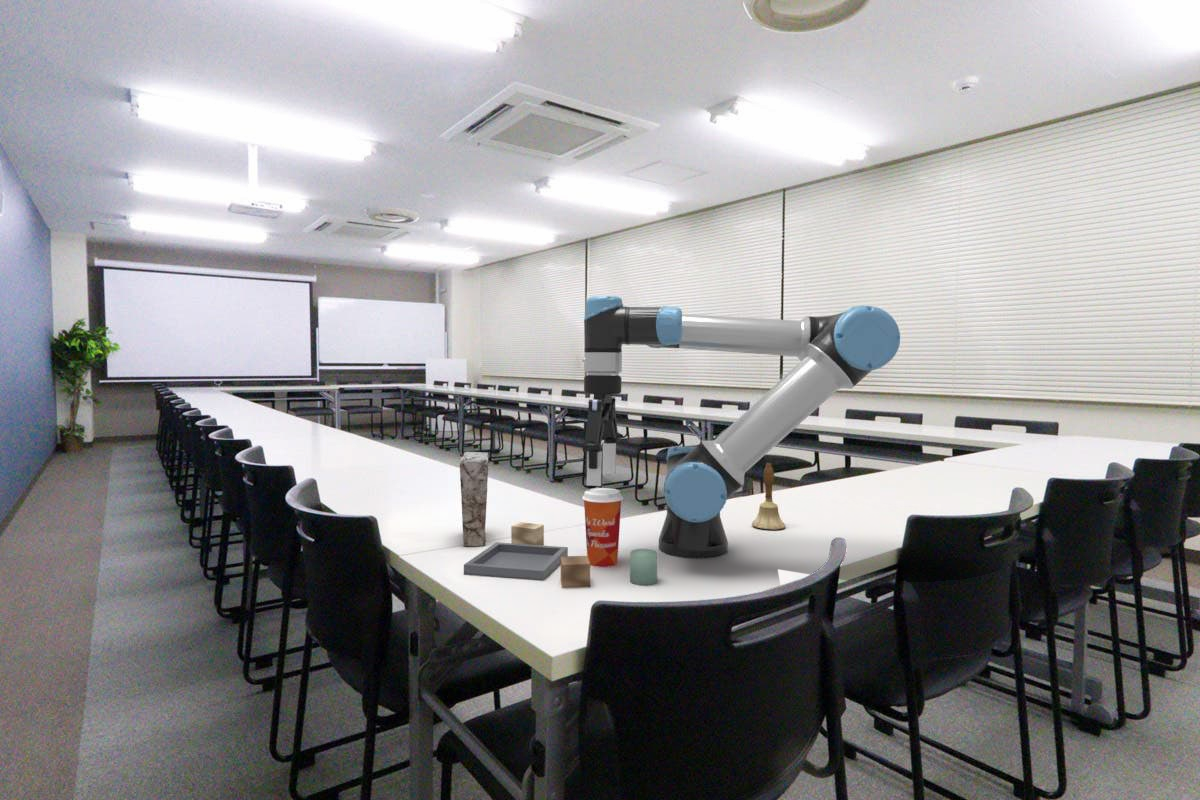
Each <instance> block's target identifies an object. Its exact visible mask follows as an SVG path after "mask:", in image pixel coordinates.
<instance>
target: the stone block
mask: <svg viewBox="0 0 1200 800" xmlns="http://www.w3.org/2000/svg"><path fill="white" fill-rule="evenodd" d="M459 460H460V461H459V475H460V476H459V477H460V478H459V481H460V495H461V501H460V502H461V516H462V519H461V520H462V537H463V546H465V547H466V546H467V547H485V546H486V540H487V539H486V518H487V503H488V501H487V499H488V478H489V453H488V452H484V451H483V452H480V451H478V452H477V451H465V452H463V456H462V457H460V459H459Z"/></svg>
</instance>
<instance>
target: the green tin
mask: <svg viewBox="0 0 1200 800" xmlns="http://www.w3.org/2000/svg"><path fill="white" fill-rule="evenodd" d="M629 581H630V583H631V584H633V585H636V586H645V587H647V586H653V585H655V584H657V583H658V552H657V550H654V549H649V548H635V549H632V550H631V551H630V552H629Z"/></svg>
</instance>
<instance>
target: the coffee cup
mask: <svg viewBox="0 0 1200 800" xmlns="http://www.w3.org/2000/svg"><path fill="white" fill-rule="evenodd" d="M581 499H582V500H583V503H584V504H583V505H584V521H585V522H584V525H585V526H584V527H585V541H586V544H585V545H586V556H588V559H589V562H590V566H592V567H596V566H599V567H598V568H606V567H607V568H608V566H609V567H614V566H616V565H617V564H618V560H619V559H618V557H619V544H620V543H619V542H620V541H619V540H620V525H621V509H622V501H624V497H623V496H622V493H621V490H619V489H616V488H612V487H611V488H608V487H596V488H589V489H587V490H585V491H584V494H583V495H582V498H581Z"/></svg>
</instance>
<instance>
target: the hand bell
mask: <svg viewBox="0 0 1200 800" xmlns="http://www.w3.org/2000/svg"><path fill="white" fill-rule="evenodd" d="M774 480H775V472H774V469H773V466H772V462H770V463H769V462H767V463H765V467H764V470H763V482H764V486H765V496H764V497H765V499H764V501H763V502H762V503H760V504H759V509H758V513H757V515H756V518H755V519H754V520H753V521H752V522H751V526H752V527H754V528H758V529H762V530H772V531H773V530H775V531H776V530H780V529H781V530H783V529H785V528H786V524H785V523H784V522H783V520H782V519H781V517H780V514H779V513H780V512H779V506H778V504H777V503H775V502H773V485H774Z"/></svg>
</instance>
